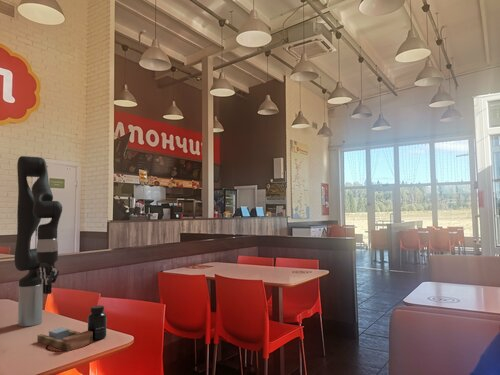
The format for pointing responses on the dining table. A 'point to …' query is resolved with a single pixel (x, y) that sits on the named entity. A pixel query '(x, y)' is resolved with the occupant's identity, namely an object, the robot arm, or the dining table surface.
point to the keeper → (59, 333)
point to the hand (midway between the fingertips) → (47, 293)
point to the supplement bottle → (97, 322)
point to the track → (68, 340)
